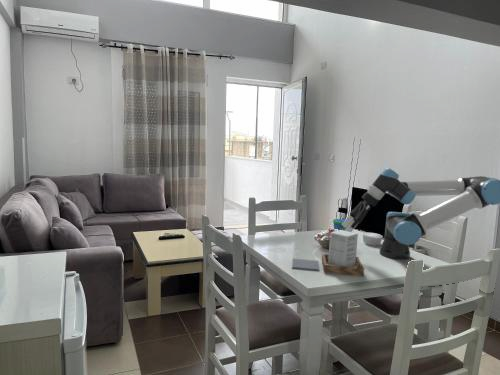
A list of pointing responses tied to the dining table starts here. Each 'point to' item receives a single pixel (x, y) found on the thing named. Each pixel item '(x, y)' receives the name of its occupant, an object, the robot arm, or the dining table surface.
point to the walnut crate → (342, 267)
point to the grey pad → (305, 264)
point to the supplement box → (342, 248)
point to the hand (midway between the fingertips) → (345, 229)
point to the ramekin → (372, 238)
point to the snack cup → (339, 224)
